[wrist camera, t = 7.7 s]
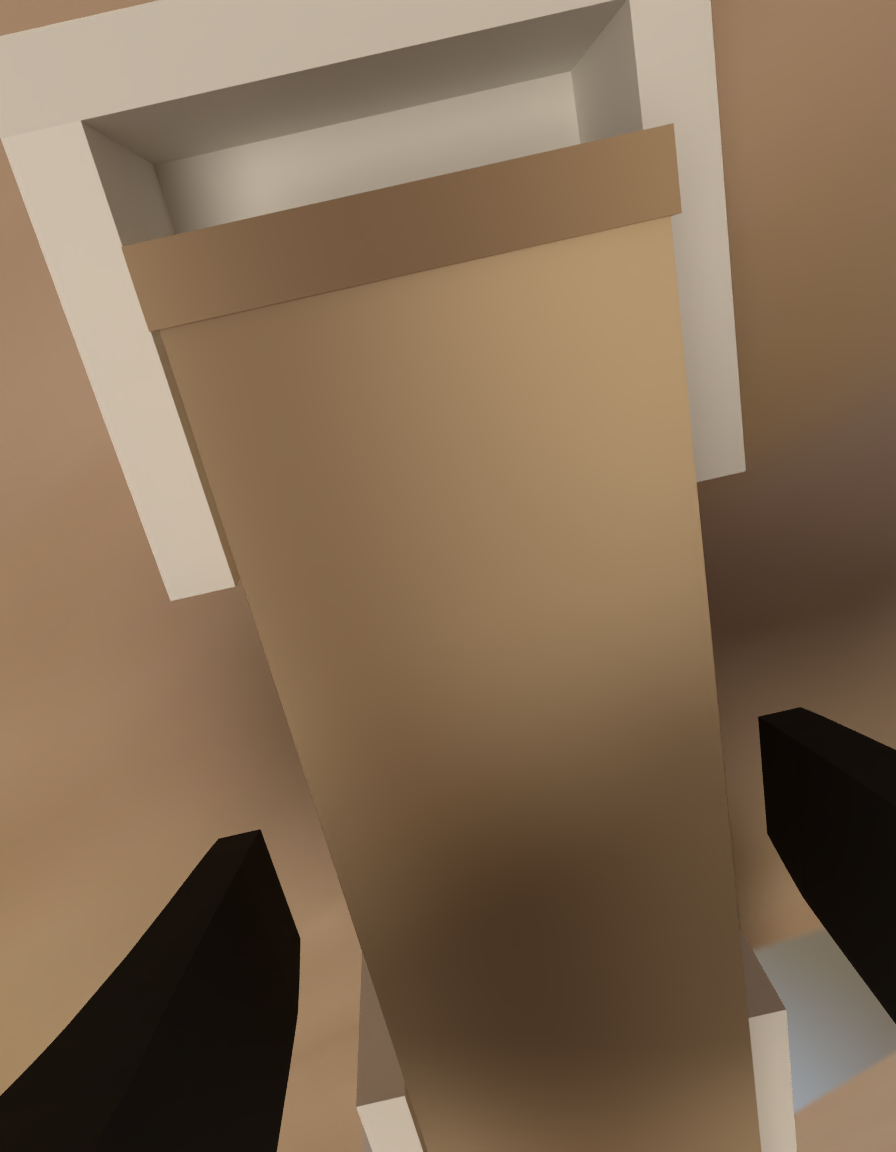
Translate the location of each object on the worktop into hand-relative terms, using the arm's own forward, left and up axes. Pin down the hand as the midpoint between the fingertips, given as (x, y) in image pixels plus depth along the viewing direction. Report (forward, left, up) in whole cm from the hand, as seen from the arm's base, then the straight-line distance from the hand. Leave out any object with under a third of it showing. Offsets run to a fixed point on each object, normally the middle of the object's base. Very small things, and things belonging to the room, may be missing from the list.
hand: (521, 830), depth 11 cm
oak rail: (0, 0, -2) cm, 2 cm away
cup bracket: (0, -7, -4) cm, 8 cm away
